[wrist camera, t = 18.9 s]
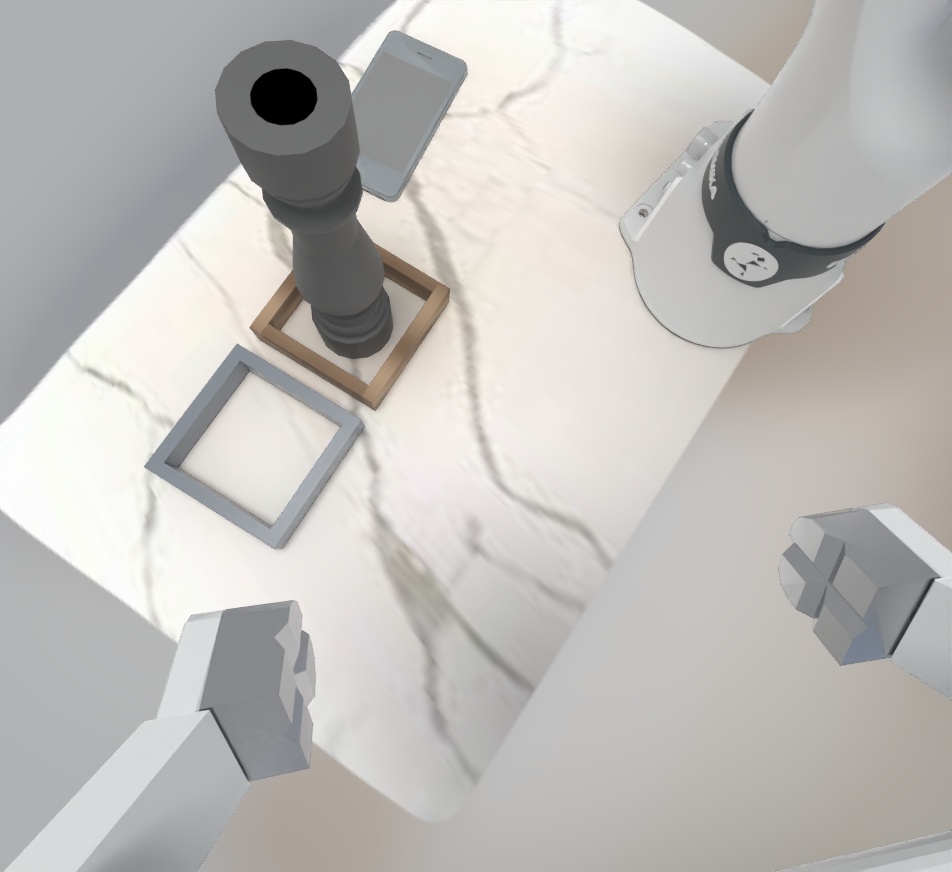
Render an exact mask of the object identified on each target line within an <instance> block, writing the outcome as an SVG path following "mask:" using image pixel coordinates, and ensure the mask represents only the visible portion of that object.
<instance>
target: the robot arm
mask: <svg viewBox="0 0 952 872" xmlns="http://www.w3.org/2000/svg"><path fill="white" fill-rule="evenodd" d="M951 173H952V0H815V2H814V6H813V9H812V13H811V15H810V18H809V20H808V22H807V25H806V28H805V29H804V32H803V33H802V35H801V37H800V39H799V41H798V43H797V45H796V46H795V48H794V50H793V51H792V53H791V55H790V57H789V58H788V60H787V61H786V63H785V65H784V66H783V68H782V70H781V71H780V73H779V74H778V76H777V77H776V79H775V81H774V82H773V84H772V85H771V87H770V88H769V90H768V91H767V93H766V94H765V96H764V97H763V99H762V100H761V102H760V103H759V104H758V106H757V107H756V108H754V109H750V110H748V111H746V112H745V113H744V114H743V115H742V116H741V117H740V118H739V119H738V120H737V121H736V122H730V121H717V122H715V123H713V124H712V125H711V126H710V127H709V128H705V127H704V128H703V129H702V130H701V131H700V132H699V133H698V134H697V136H696V137H695V138H694V140H693V141H692V142H691V144H690V145H689V147H688V148H687V150H686V151H685V152H684V153H683V154H682V155H681V156H680V157H679V158H678V159H677V160H676V161H675V163H674V164H673V165H672V166H671V167H670V168H669V169H668V170H667V171H666V172H665V173H664V174H663V175H662V176H661V177H660V178H659V179H658V180H657V181H656V182H655V183H654V184H653V185H652V186H651V187H650V188H649V189H648V190H647V191H646V192H645V193H644V194H643V195H642V196H641V197H640V198H639V200H638V201H637V202H636V203H635V204H634V205H633V206H632V207H631V208H630V209H629V210H628V211H627V212H626V213H625V214H624V216H623V217H622V218H621V220H620V224H619V226H620V230H621V233H622V235H623V237H624V239H625V241H626V243H627V245H628V246H629V248H630V250H631V252H632V256H633V263H634V273H635V279H636V283H637V286H638V289H639V292H640V294H641V296H642V298H643V300H644V302H645V304H646V305H647V307H648V308H649V310H650V311H651V312H652V314H653V315H654V316H655V317H656V318H657V319H658V320H659V321H660V322H661V323H662V324H663V325H664V326H665V327H667V328H668V329H669V330H671V331H672V332H673V333H675V334H677V335H678V336H680V337H682V338H684V339H686V340H688V341H691V342H693V343H697V344H700V345H704V346H710V347H734V346H739V345H743V344H746V343H749V342H751V341H754V340H756V339H758V338H760V337H762V336H764V335H768V334H788V333H795V332H798V331H800V330H801V329H803V328H804V327H805V326H806V325H807V324H808V323H809V321H810V317H811V313H812V309H813V305H814V302H816V301H817V300H818V299H819V298H821V297H822V296H823V295H824V294H826V293H827V292H828V291H829V290H831V289H832V288H833V287H834V286H836V285H837V284H838V283H839V282H840V281H841V280H842V279H843V277H844V273H843V270H844V267H845V263H846V260H847V259H849V258H850V257H852V256H853V255H854V254H856V253H857V252H858V251H860V250H861V248H863V247H864V246H865V245H866V244H867V243H868V242H869V241H870V240H871V239H872V238H873V237H874V236H875V235H876V234H877V233H878V232H879V231H880V230H881V228H882V227H883V225H884V224H885V222H886V221H887V220H888V219H890V218H891V217H892V216H894V215H895V214H897V213H898V212H899V211H901V210H902V209H903V208H905V207H906V206H908V205H909V204H910V203H912V202H913V201H914V200H916V199H917V198H918V197H920V196H921V195H923V194H924V193H925V192H927V191H928V190H929V189H931V188H932V187H934V186H935V185H936V184H938V183H939V182H940V181H942V180H943V179H944V178H946V177H947V176H949V175H950V174H951ZM639 213H642V214H644V215H645V217H641V216H640V215H639ZM789 536H790V538H791V539H792V541H793V542H794V544H792V545H791V546H790V547H789V548H788V549H787V550H786V551H785V552H784V553H783V554H782V557H781V561H780V564H779V568H778V570H779V576H780V583H781V586H782V588H783V590H784V592H785V595H786V597H787V598H788V599H789V601H790V602H791V603H792V605H793V606H794V607H795V609H797V610H799V611H800V612H802V613H804V614H806V615H808V616H810V617H811V618H813V632H814V633H815V634H816V636H817V637H818V638H819V639H820V641H821V642H822V643H823V644H824V646H825V647H826V648H827V650H828V651H829V652H830V653H831V655H832V656H833V657H834V658H835V660H836V661H837V662H838V663H839V665H840V666H841V665H847V664H853V663H860V662H866V661H872V660H878V659H884V658H890V657H891V659H890V661H891V662H893V663H895V664H896V665H898V666H899V667H901V668H902V669H904V670H905V671H907V672H908V673H910V674H911V675H913V676H915V677H916V678H918V679H919V680H921V681H922V682H924V683H925V684H927V685H929V686H930V687H932V688H933V689H935V690H936V691H938V692H939V693H941V694H942V695H944V696H946V697H947V698H949V699H950V700H952V553H951V552H950V551H949V550H947V549H946V548H945V547H944V546H943V545H941V544H940V543H939V542H938V541H937V540H936V539H934V538H933V537H932V536H931V535H930V534H929V533H927V532H926V531H925V530H924V529H923V528H922V527H920V526H919V525H918V524H917V523H916V522H914V521H913V520H912V519H911V518H910V517H909V516H907V515H906V514H905V513H904V512H903V511H901V510H900V509H899V508H898V507H896V506H894V505H891V504H888V503H880V504H875V505H869V506H863V507H857V508H849V509H844V510H838V511H832V512H827V513H821V514H815V515H809V516H804V517H799V518H798V519H797V520H796V521H795V522H794V523H793V524H792V527H791V530H790V533H789ZM302 616H303V615H302V613H301V610H300V607H299V605H298V602H297V601H295V600H291V601H284V602H277V603H269V604H262V605H255V606H247V607H240V608H233V609H226V610H222V611H215V612H208V613H201V614H194V615H191V616H190V618H189V619H188V620H187V622H186V623H185V624H184V627H183V630H182V633H181V636H180V640H179V643H178V646H177V650H176V653H175V656H174V659H173V663H172V666H171V669H170V672H169V676H168V679H167V682H166V685H165V689H164V692H163V695H162V698H161V702H160V705H159V708H158V712H157V715H156V718H155V719H153V720H148V721H144V722H143V723H142V724H141V725H140V726H139V727H138V729H136V730H135V732H134V733H133V734H132V735H131V736H130V737H129V738H128V739H127V740H126V741H125V742H124V743H123V744H122V745H121V746H120V748H119V749H118V750H117V751H116V752H115V753H114V754H113V755H112V756H111V757H110V758H109V759H108V761H107V762H106V763H105V764H104V765H103V766H102V767H101V768H100V769H99V770H98V771H97V772H96V773H95V775H94V776H92V778H91V779H90V780H89V781H88V782H87V783H86V784H85V785H84V786H83V787H82V788H81V790H79V792H78V793H77V794H76V795H75V796H74V797H73V798H72V799H71V800H70V801H69V802H68V803H67V804H66V806H64V808H63V809H62V810H61V811H60V812H59V813H58V814H57V815H56V816H55V817H54V818H53V819H52V820H51V822H50V823H49V824H48V825H47V826H46V827H45V828H44V829H43V830H42V831H41V832H40V833H39V834H38V835H37V837H36V838H35V839H34V840H33V841H32V842H31V843H30V844H29V845H28V846H27V847H26V848H25V849H24V850H23V852H22V853H21V854H20V855H19V856H18V857H17V858H16V859H15V860H14V861H13V862H12V863H11V864H10V865H9V866H8V868H7V869H6V870H5V871H4V872H198V870H199V869H200V867H201V865H202V864H203V862H204V860H205V859H206V857H207V855H208V854H209V852H210V850H211V849H212V847H213V845H214V844H215V842H216V841H217V838H218V837H219V836H220V834H221V832H222V831H223V829H224V827H225V825H226V824H227V822H228V821H229V819H230V817H231V816H232V814H233V812H234V811H235V809H236V808H237V806H238V804H239V803H240V801H241V799H242V798H243V796H244V794H245V793H246V791H247V790H248V788H249V786H250V784H249V781H254V780H258V779H263V778H267V777H272V776H277V775H281V774H286V773H290V772H295V771H299V770H303V769H308V768H310V757H311V743H312V730H313V723H312V720H311V717H310V714H309V712H308V709H307V706H308V704H309V703H310V702H311V700H312V699H313V698H314V696H315V683H316V673H315V657H314V652H313V647H312V643H311V639H310V636H309V634H308V633H306V632H304V631H302V630H301V627H302ZM773 872H952V830H950V831H946V832H941V833H937V834H933V835H929V836H924V837H920V838H916V839H911V840H907V841H902V842H898V843H894V844H889V845H885V846H881V847H876V848H872V849H868V850H863V851H859V852H855V853H850V854H846V855H842V856H837V857H833V858H829V859H825V860H821V861H816V862H811V863H807V864H803V865H798V866H794V867H790V868H785V869H781V870H777V871H773Z"/></svg>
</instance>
